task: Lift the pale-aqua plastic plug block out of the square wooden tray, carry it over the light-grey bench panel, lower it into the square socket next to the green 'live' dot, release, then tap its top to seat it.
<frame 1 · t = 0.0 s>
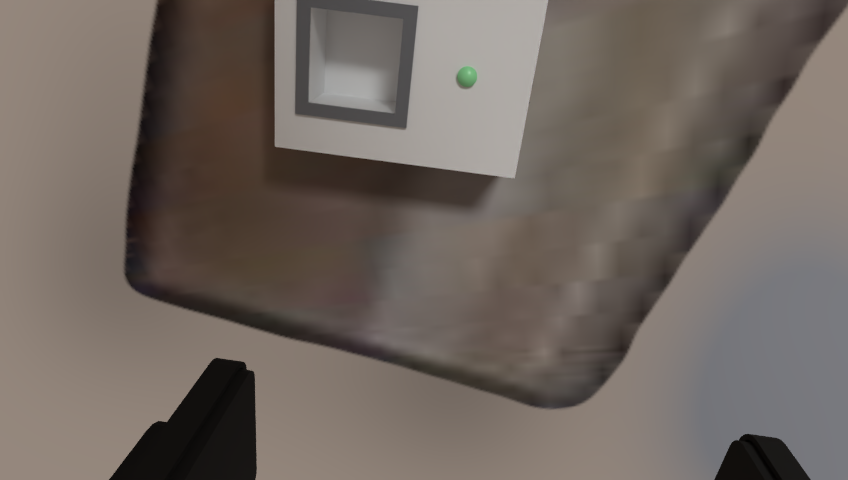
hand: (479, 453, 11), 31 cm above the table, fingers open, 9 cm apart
panel: (410, 60, 38), on the table
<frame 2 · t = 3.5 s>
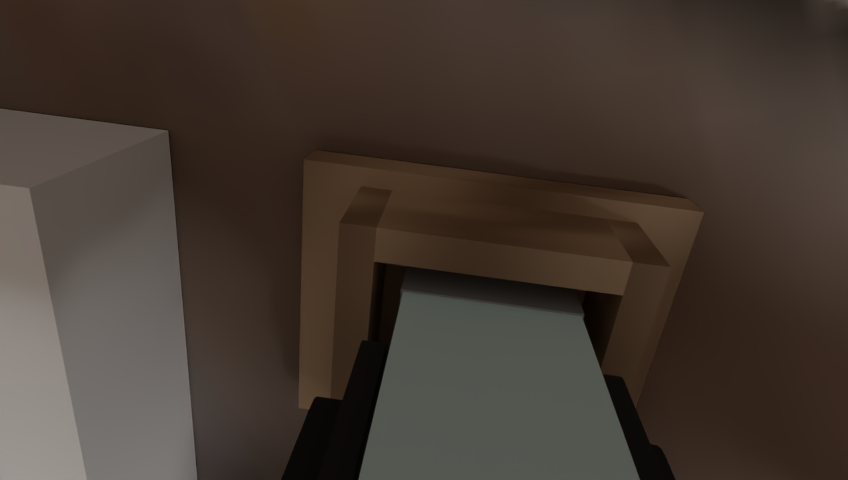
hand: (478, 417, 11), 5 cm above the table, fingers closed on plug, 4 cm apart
panel: (12, 344, 18), on the table
square wooden tray: (477, 303, 16), on the table
plug: (477, 321, 15), point 1 cm above the table, touching gripper, square wooden tray
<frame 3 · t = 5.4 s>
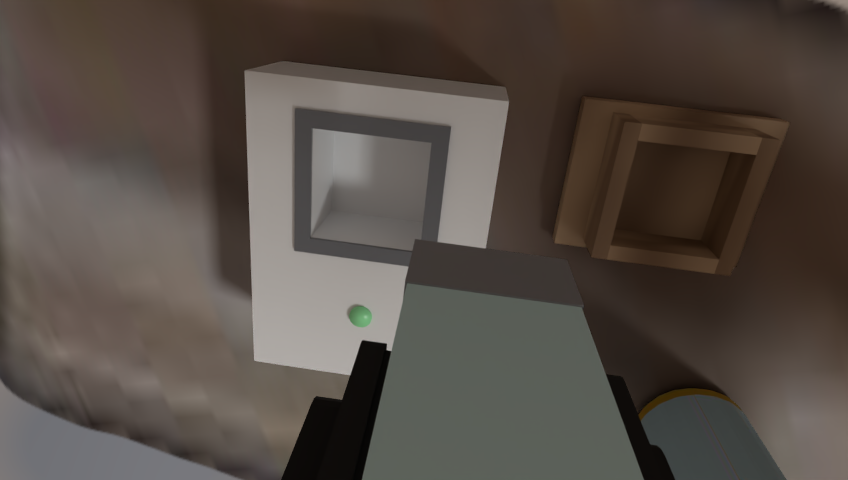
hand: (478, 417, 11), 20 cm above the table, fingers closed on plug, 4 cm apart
bottle: (683, 423, 36), on the table
panel: (382, 213, 32), on the table
square wooden tray: (658, 181, 29), on the table
plug: (479, 314, 15), point 16 cm above the table, touching gripper
when the fingers open (6 cm above the table, at t = 7.8 s): plug stays where it is, resting on panel.
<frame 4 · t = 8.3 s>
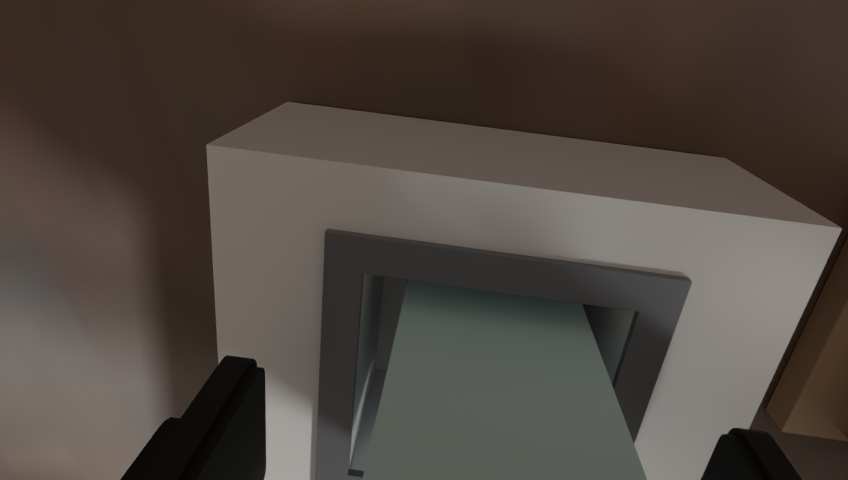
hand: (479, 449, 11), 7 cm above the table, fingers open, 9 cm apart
panel: (462, 367, 18), on the table
plug: (480, 303, 16), point 1 cm above the table, touching panel
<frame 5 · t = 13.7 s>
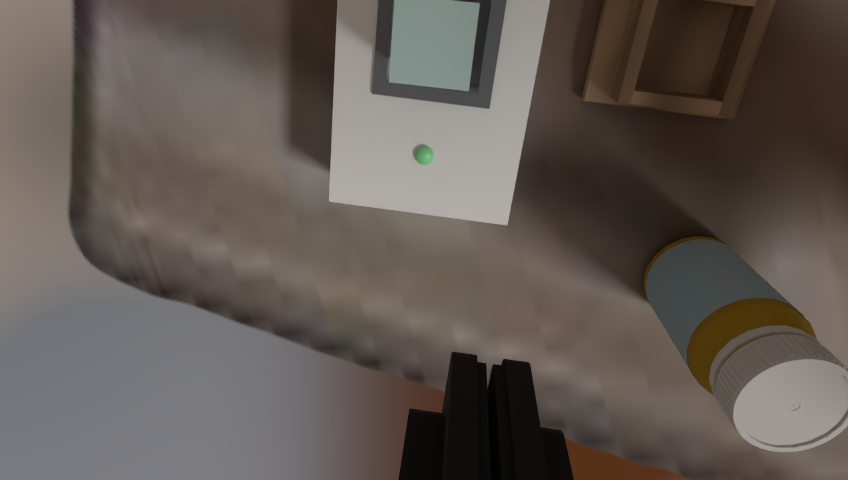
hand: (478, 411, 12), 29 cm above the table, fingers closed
bottle: (687, 273, 42), on the table
panel: (436, 80, 37), on the table
square wooden tray: (671, 46, 35), on the table
plug: (442, 33, 35), point 1 cm above the table, touching panel
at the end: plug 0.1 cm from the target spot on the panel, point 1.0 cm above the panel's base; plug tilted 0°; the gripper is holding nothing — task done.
